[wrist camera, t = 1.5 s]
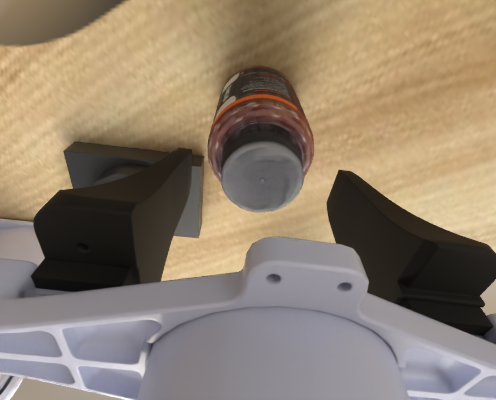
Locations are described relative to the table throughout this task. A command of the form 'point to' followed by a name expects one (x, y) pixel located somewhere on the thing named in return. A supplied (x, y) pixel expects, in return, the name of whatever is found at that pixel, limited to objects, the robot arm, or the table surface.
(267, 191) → the supplement bottle
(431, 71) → the table surface
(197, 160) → the control box
